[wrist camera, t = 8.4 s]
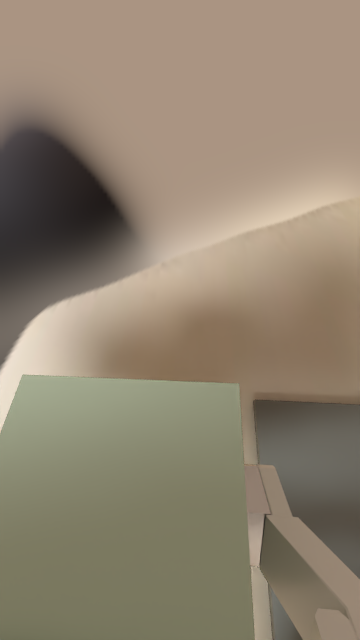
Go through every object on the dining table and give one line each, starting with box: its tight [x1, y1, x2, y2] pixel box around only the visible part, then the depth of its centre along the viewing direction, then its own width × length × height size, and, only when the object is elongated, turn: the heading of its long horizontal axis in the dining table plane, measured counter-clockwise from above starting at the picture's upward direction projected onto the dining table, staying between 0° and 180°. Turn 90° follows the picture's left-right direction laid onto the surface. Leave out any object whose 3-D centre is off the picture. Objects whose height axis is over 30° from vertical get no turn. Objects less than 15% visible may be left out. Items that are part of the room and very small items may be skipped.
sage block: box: [0, 375, 255, 640], centre depth 8 cm, size 5×5×9 cm
